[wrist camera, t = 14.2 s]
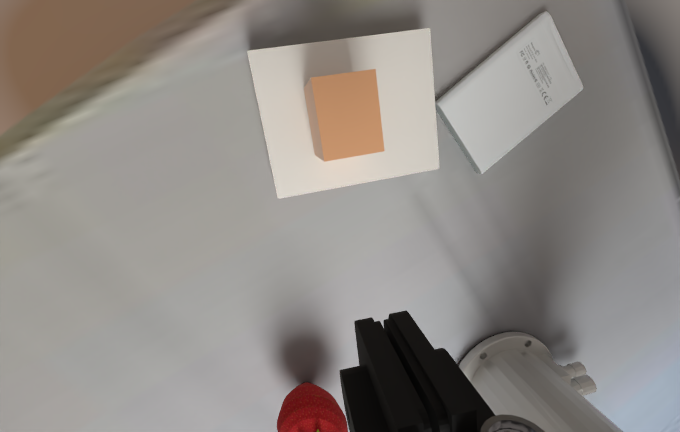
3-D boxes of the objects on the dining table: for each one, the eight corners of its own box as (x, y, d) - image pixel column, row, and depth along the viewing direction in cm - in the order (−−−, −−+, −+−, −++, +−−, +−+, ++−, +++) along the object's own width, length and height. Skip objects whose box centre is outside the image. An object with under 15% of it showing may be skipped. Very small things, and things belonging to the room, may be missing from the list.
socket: (417, 36, 28) (430, 27, 26) (427, 165, 31) (439, 168, 29) (249, 57, 26) (246, 50, 24) (277, 193, 29) (278, 198, 27)
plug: (348, 85, 28) (375, 68, 20) (356, 145, 29) (384, 151, 22) (301, 91, 27) (310, 77, 20) (311, 152, 29) (324, 161, 21)
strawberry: (315, 344, 34) (330, 429, 24) (348, 394, 36) (374, 489, 27) (264, 374, 34) (259, 471, 24) (300, 422, 36) (309, 528, 26)
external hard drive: (429, 104, 30) (535, 14, 30) (473, 173, 33) (572, 91, 33) (437, 103, 29) (549, 8, 28) (483, 175, 31) (586, 89, 31)
